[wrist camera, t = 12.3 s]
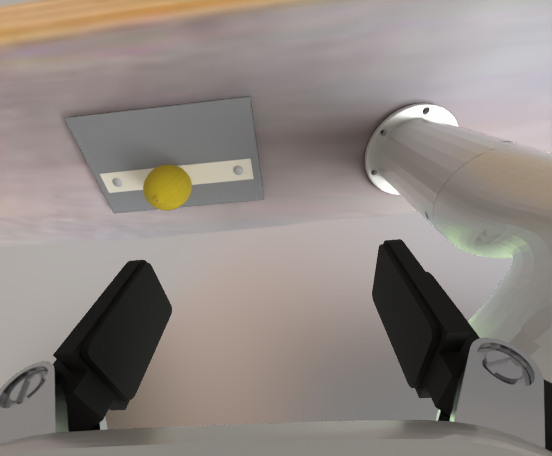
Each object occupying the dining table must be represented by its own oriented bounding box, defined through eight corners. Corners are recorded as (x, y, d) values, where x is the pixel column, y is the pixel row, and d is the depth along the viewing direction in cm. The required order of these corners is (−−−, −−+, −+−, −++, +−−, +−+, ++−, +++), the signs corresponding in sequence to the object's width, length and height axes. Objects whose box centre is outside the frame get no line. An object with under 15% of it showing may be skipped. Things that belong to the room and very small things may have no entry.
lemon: (178, 199, 37) (156, 227, 31) (151, 169, 35) (121, 193, 28) (206, 182, 36) (190, 207, 29) (180, 149, 33) (156, 168, 27)
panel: (250, 96, 31) (249, 97, 30) (263, 195, 39) (263, 199, 38) (72, 116, 33) (64, 118, 31) (118, 208, 40) (113, 213, 39)
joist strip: (250, 158, 34) (250, 158, 34) (253, 178, 36) (253, 179, 36) (99, 173, 35) (99, 174, 35) (109, 192, 37) (108, 193, 37)
